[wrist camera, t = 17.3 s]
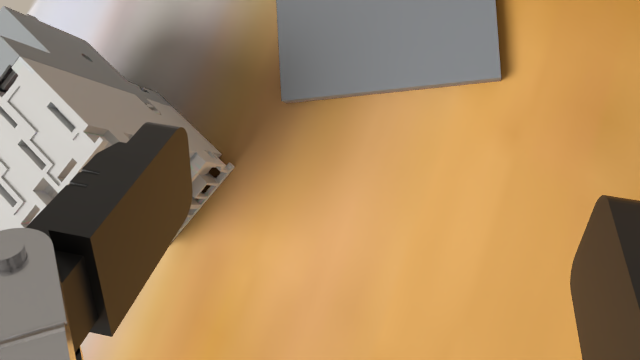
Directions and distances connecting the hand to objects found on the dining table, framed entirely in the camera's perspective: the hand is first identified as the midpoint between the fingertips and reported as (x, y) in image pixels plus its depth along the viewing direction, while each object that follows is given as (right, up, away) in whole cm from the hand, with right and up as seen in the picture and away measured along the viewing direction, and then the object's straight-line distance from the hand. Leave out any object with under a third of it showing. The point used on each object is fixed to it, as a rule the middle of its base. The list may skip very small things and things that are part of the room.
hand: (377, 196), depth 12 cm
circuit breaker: (-14, +3, +32) cm, 36 cm away
